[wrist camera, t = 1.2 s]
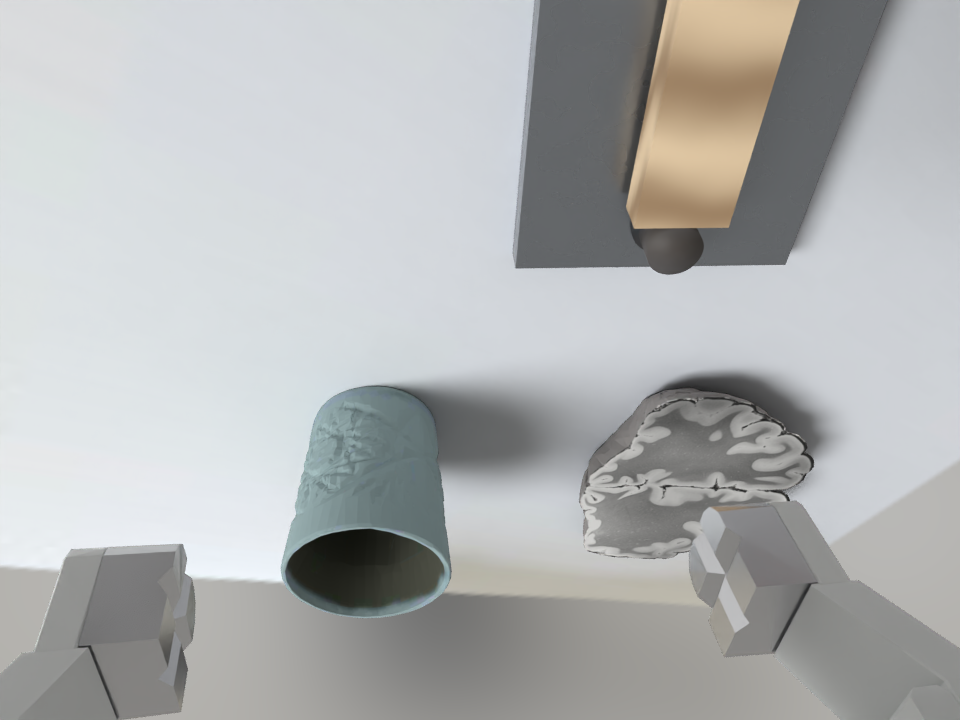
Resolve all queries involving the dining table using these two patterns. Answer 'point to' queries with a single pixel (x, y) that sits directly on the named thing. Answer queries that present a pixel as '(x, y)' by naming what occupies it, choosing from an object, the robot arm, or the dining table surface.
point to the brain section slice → (684, 471)
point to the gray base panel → (618, 122)
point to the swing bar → (702, 120)
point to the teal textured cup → (369, 509)
